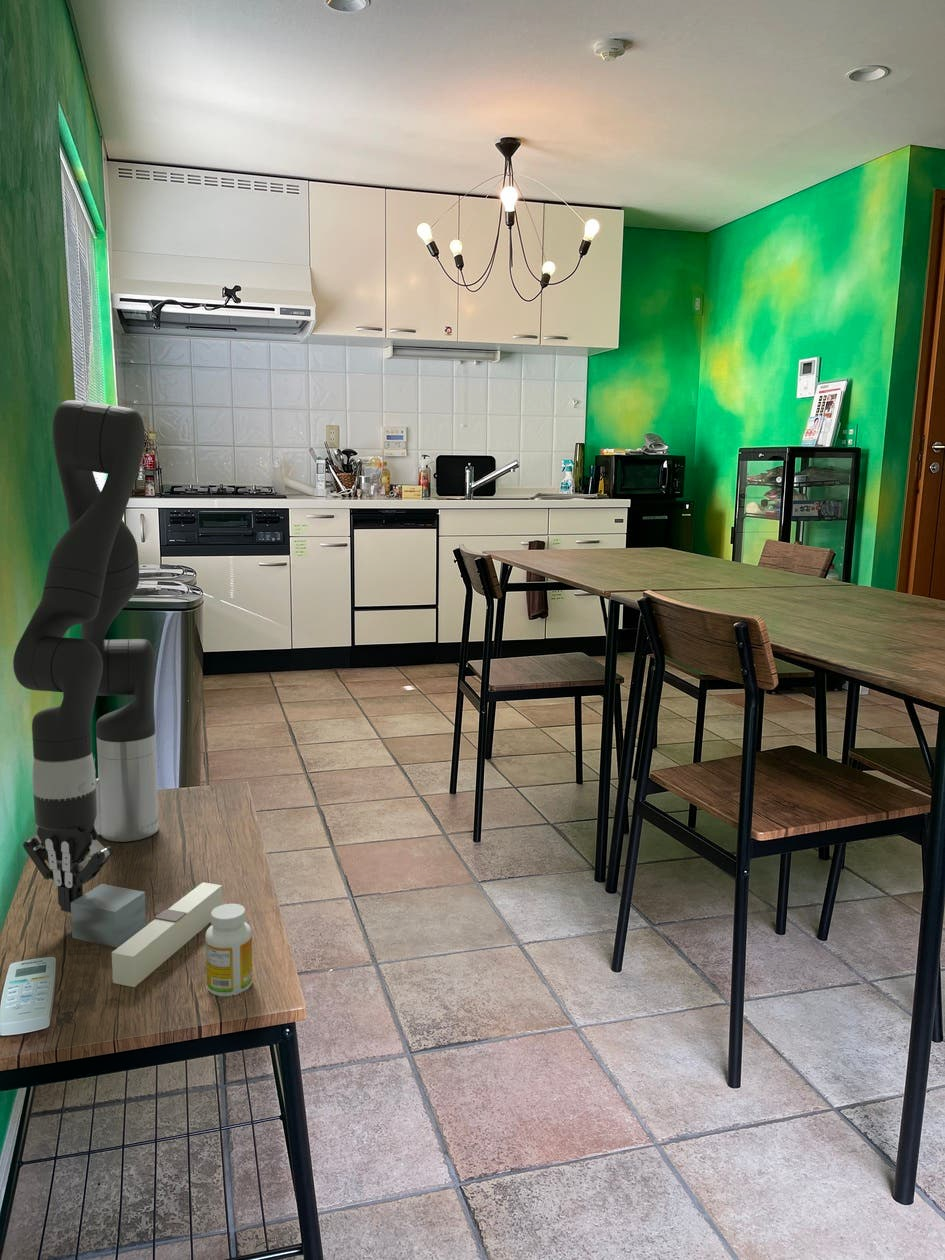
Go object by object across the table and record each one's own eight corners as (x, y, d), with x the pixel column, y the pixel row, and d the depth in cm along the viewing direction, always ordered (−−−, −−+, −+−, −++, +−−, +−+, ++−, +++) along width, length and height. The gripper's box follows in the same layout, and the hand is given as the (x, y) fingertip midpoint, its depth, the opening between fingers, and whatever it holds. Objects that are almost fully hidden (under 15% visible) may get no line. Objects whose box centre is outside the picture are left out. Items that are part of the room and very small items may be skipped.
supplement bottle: (244, 968, 115) (242, 896, 113) (258, 989, 110) (257, 915, 109) (201, 980, 112) (199, 906, 110) (214, 1002, 107) (212, 926, 106)
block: (72, 938, 121) (70, 902, 120) (103, 917, 127) (101, 883, 126) (116, 947, 119) (115, 911, 118) (146, 926, 125) (144, 892, 124)
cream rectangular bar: (112, 982, 111) (111, 950, 110) (203, 908, 130) (202, 880, 129) (134, 987, 110) (133, 955, 109) (222, 911, 129) (222, 884, 128)
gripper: (126, 783, 122) (130, 905, 125) (43, 772, 126) (50, 890, 129) (87, 802, 115) (93, 930, 118) (1, 789, 119) (9, 914, 122)
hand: (71, 909), depth 123 cm, fingers closed
